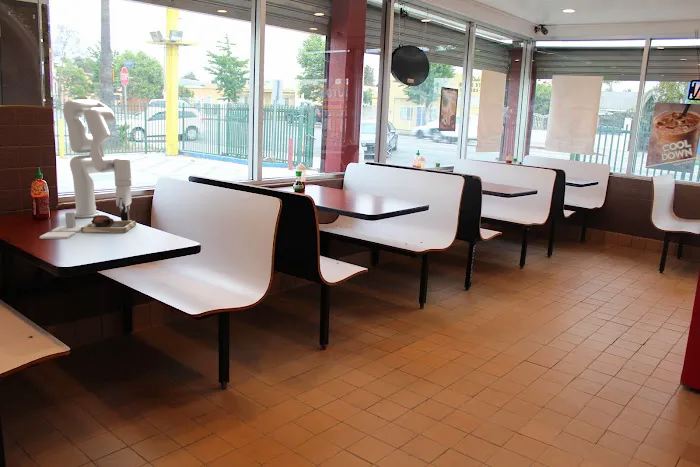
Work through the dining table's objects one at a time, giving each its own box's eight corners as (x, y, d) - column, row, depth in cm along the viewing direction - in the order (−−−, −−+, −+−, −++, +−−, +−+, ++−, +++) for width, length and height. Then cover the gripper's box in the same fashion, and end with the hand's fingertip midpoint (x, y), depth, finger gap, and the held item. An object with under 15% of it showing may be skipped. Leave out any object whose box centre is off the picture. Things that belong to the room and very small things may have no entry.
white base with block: (59, 228, 284) (58, 212, 282) (85, 228, 285) (83, 212, 283) (39, 238, 263) (37, 221, 262) (67, 238, 264) (65, 221, 262)
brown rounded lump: (86, 233, 278) (86, 216, 281) (100, 237, 287) (100, 221, 289) (107, 228, 275) (108, 211, 277) (121, 233, 284) (121, 216, 286)
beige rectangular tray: (99, 221, 299) (97, 206, 297) (139, 222, 300) (138, 206, 298) (81, 232, 276) (79, 215, 274) (125, 232, 277) (123, 215, 275)
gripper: (120, 180, 300) (123, 216, 304) (109, 185, 284) (112, 222, 289) (135, 180, 301) (138, 216, 305) (125, 185, 285) (128, 223, 289)
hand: (125, 219), depth 297 cm, fingers closed on beige rectangular tray, 3 cm apart
